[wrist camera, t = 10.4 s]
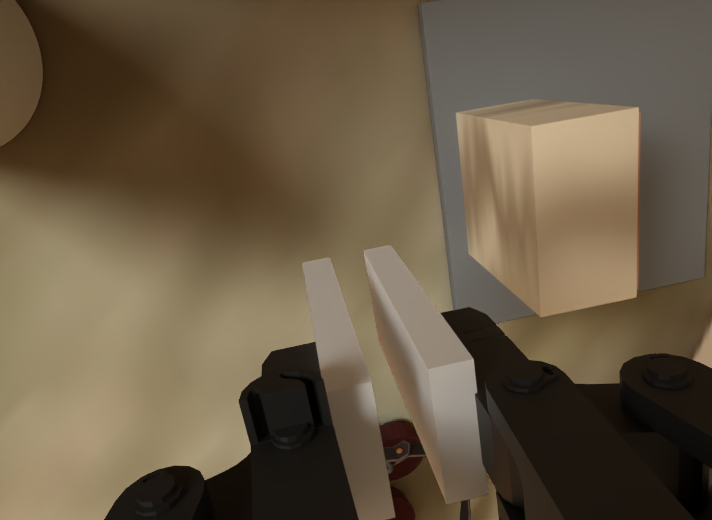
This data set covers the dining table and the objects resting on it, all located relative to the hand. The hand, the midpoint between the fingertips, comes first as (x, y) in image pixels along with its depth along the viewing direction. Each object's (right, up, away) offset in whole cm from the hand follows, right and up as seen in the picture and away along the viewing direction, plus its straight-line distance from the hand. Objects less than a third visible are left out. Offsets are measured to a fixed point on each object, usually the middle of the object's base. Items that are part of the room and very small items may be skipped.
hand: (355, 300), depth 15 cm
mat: (+11, +6, +13) cm, 18 cm away
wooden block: (+7, +5, +12) cm, 15 cm away
